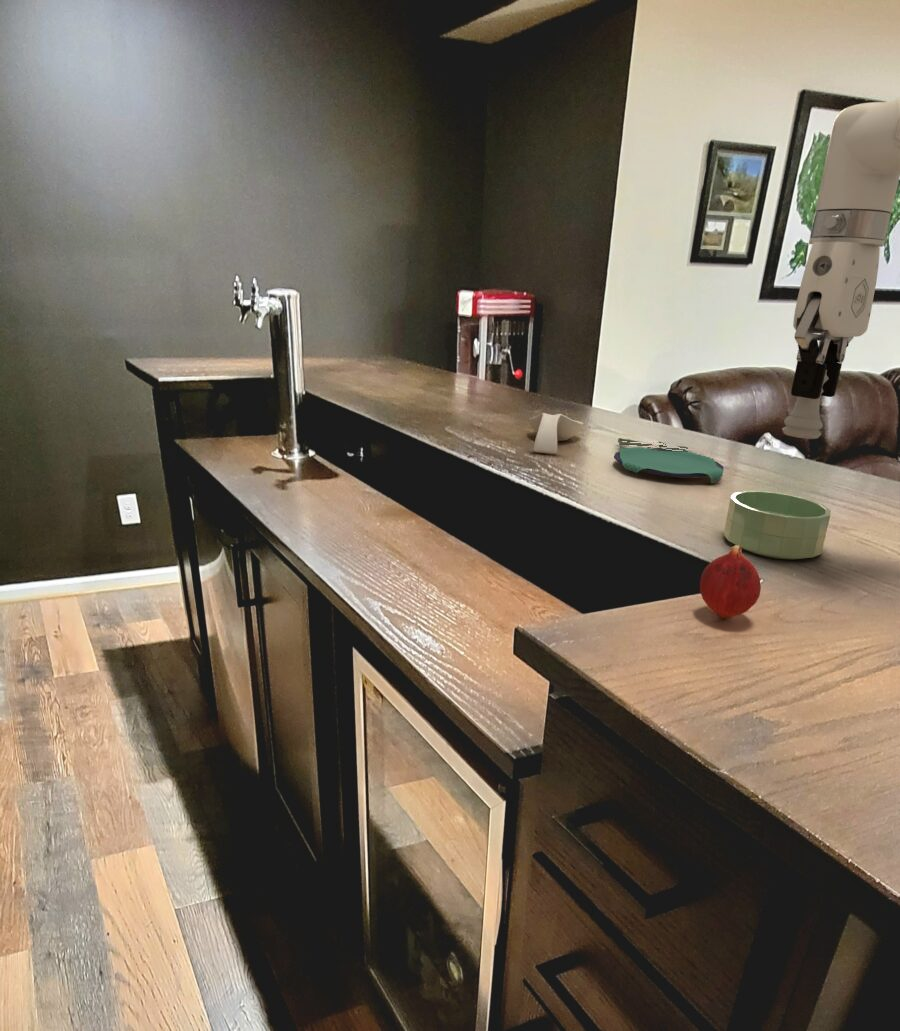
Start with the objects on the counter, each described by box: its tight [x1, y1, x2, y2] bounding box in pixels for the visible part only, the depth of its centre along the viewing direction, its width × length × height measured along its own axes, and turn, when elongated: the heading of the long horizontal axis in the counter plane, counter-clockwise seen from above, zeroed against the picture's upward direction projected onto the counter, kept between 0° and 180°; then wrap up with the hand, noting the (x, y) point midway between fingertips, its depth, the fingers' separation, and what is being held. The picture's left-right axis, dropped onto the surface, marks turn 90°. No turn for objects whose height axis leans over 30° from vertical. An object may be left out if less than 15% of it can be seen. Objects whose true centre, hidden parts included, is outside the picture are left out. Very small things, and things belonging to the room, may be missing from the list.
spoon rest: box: [528, 412, 584, 455], centre depth 152 cm, size 24×12×7 cm, turn 167°
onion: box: [699, 544, 762, 620], centre depth 74 cm, size 6×6×8 cm
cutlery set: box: [613, 437, 725, 485], centre depth 140 cm, size 20×30×2 cm, turn 171°
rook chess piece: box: [781, 370, 829, 440], centre depth 86 cm, size 4×4×8 cm
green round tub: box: [723, 490, 831, 560], centre depth 97 cm, size 12×12×6 cm
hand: (812, 394), depth 86 cm, fingers closed on rook chess piece, 3 cm apart
